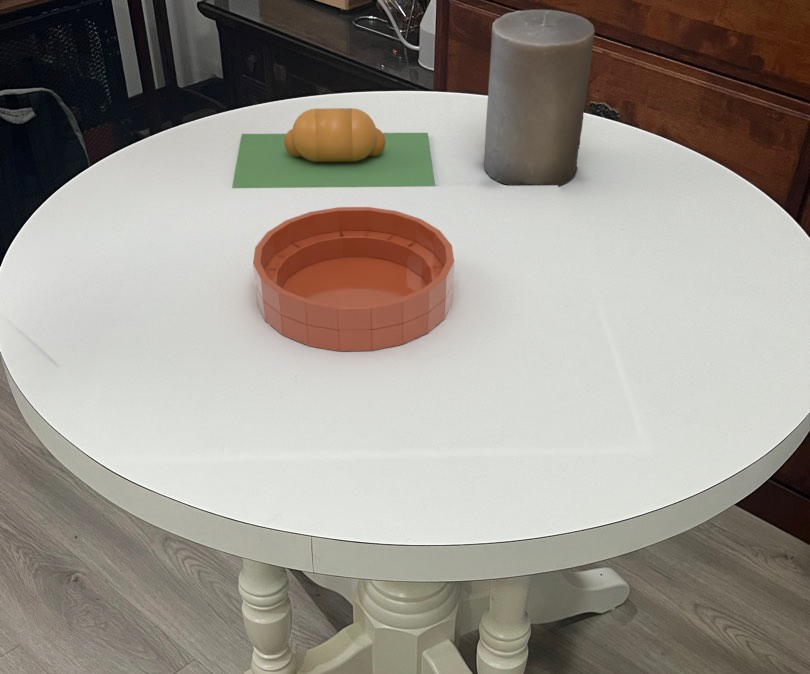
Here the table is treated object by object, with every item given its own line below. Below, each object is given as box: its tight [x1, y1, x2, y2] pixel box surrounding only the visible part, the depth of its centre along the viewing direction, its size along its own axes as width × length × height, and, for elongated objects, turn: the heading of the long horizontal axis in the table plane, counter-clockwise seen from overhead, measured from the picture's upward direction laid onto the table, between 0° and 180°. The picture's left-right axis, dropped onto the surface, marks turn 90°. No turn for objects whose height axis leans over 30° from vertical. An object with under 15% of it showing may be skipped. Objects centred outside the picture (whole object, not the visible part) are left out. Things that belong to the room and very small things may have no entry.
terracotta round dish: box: [252, 206, 455, 352], centre depth 82 cm, size 16×16×4 cm
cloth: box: [231, 132, 436, 189], centre depth 102 cm, size 20×13×1 cm, turn 92°
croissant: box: [284, 107, 386, 162], centre depth 101 cm, size 10×5×5 cm, turn 92°
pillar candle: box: [483, 9, 596, 187], centre depth 97 cm, size 10×10×15 cm
